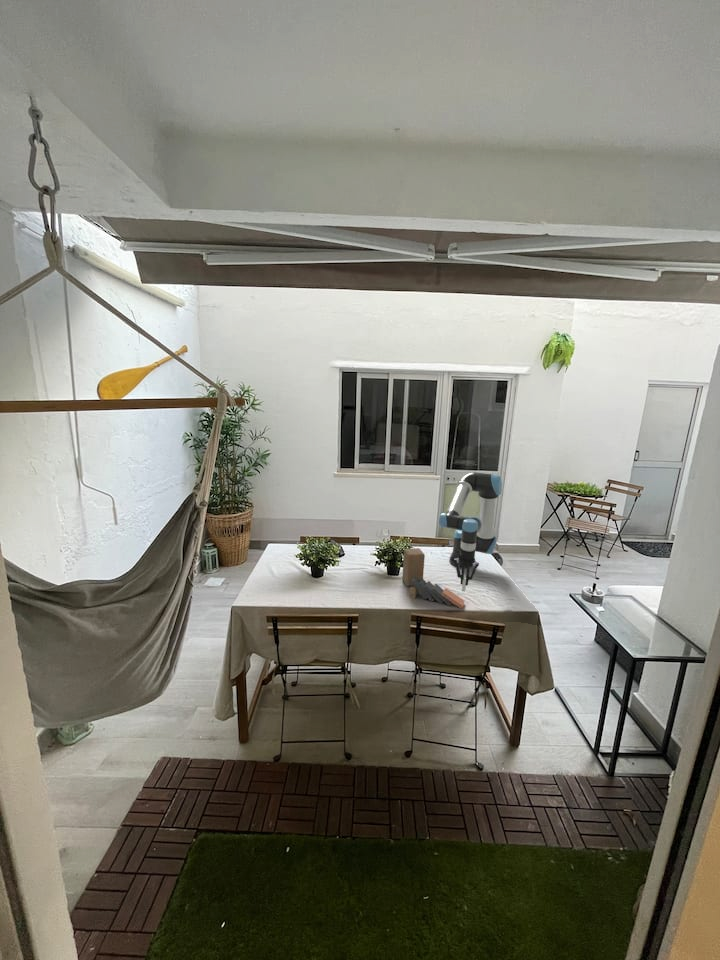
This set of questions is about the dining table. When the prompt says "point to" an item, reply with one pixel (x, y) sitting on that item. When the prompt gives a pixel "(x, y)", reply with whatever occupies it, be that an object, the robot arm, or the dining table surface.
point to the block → (412, 565)
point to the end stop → (413, 592)
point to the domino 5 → (453, 598)
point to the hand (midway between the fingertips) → (463, 590)
